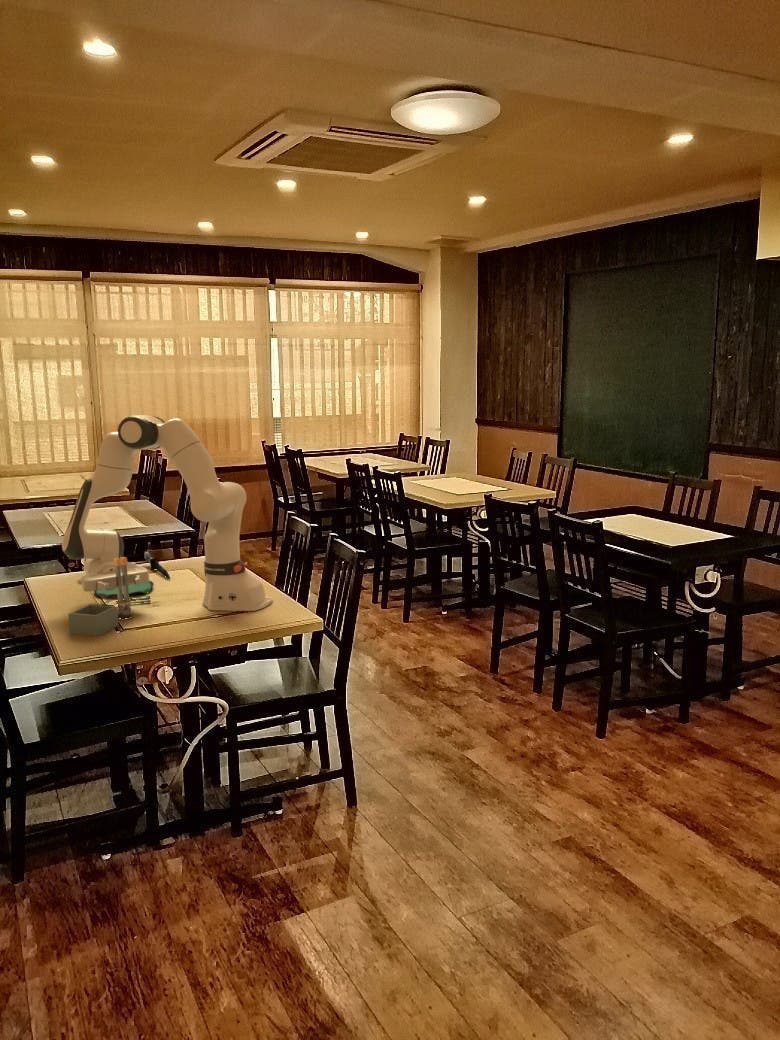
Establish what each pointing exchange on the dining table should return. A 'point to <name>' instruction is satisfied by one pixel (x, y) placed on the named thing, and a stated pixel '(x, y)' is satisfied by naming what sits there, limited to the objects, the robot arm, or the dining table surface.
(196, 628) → the dining table surface
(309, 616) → the dining table surface
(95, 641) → the dining table surface
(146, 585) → the green cutting board
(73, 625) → the open box
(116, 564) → the tongs
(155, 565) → the knife
